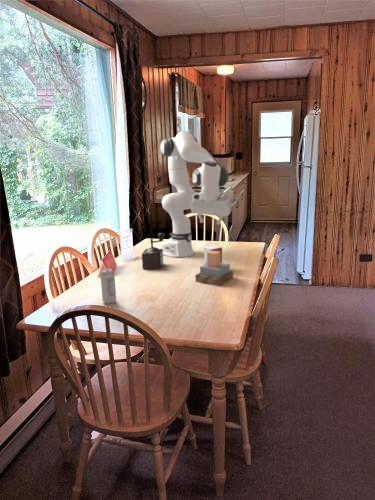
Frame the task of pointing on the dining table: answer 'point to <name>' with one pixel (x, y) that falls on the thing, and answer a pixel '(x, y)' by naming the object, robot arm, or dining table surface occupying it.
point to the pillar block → (213, 258)
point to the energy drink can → (108, 286)
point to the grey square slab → (215, 270)
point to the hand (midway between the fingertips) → (210, 223)
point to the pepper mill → (153, 255)
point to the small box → (212, 248)
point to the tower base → (214, 279)
